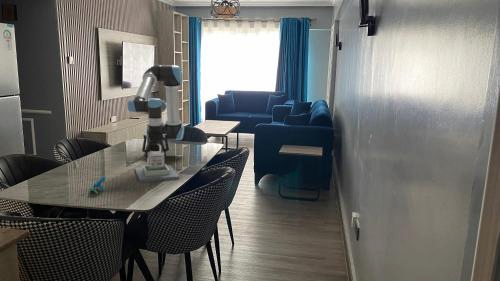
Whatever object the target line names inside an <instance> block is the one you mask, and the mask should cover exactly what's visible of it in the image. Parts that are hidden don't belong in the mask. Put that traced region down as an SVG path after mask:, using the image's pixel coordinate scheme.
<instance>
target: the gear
mask: <svg viewBox="0 0 500 281" xmlns="http://www.w3.org/2000/svg"><path fill="white" fill-rule="evenodd" d="M105 180H106V176H103V177H101V178H100V179H99V180H97V181H96V182H95V183H94V184H93V185H92V186H90V187H89V189H88V190H89V191H90V192H91V191H93V192H95V194H97V195H99V192H98V191H97V190H98V189H99V188H100V189H101V190H102V191H103V192H105V191H106V189H105V188H104V187H103V186H102V183H103V182H104V181H105Z"/></svg>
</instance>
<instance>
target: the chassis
mask: <svg viewBox="0 0 500 281" xmlns="http://www.w3.org/2000/svg"><path fill="white" fill-rule="evenodd" d="M134 171H135V174H136V176H137V179H138V181H139V183H147V182H148V183H149V182H157V181H171V180H179V179H180V176H179V174H178V173H177V172H176V171H175V169H174V167H173V166H172V165H170V164H166V163H164V167H153V168H151V167H150V166H149V165H148V164H147V165H142V166H139V167H138V166H137V167H134Z"/></svg>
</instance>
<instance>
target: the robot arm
mask: <svg viewBox="0 0 500 281" xmlns="http://www.w3.org/2000/svg"><path fill="white" fill-rule="evenodd" d="M157 83H162V85H163V87H164V88H165V98H166V99H165V100H162V99H161V98H156V97H155V98H154V97H152V98H149V97H150V94H151V92H152V90H153V87H154V85H156V84H157ZM181 83H183V71H182V68H181V67H180V66H179V65H174V64H155V65H153V66H150V67H149V68H148V69H146V71H145V72H144V73H143V74H142V80H141V83H140V86H139V88H138V90H137V91H136V94H135V97H134V98H133V99H129V100H128V101H127V110H128V112H130V113H145V114H148V115H147V117H148V119H147V120H148V123H147V125H146V134H143V135H142V137H143V144H142V149H141V150H142V151H141V152H142V153H144V155H145V158H146V159H147V160H146V161H147V165H148V164H149V152H150V146H151V145H152V144H160V145H161V152H162V153H163V154H164V158H166V157H167V152H168V151H170V147H169V142H168V141H182V140H183V137H184V135H185V125H184V123H183V122H182V120H181V119H180V101H179V98H180V97H179V96H180V94H179V87H180V86H181ZM165 111H166V116H167V117H166V121H165V123H164V122H163V120H162V118H163V117H162V114H163V113H164V112H165Z"/></svg>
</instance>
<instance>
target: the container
mask: <svg viewBox="0 0 500 281" xmlns="http://www.w3.org/2000/svg"><path fill="white" fill-rule="evenodd" d="M164 164H165V157H164V154H163V153H162V152H161V145H160V144H152V145H151V146H150V152H149V164H148V163H147V165H149V166H150V167H151V168H153V167H164Z"/></svg>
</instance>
